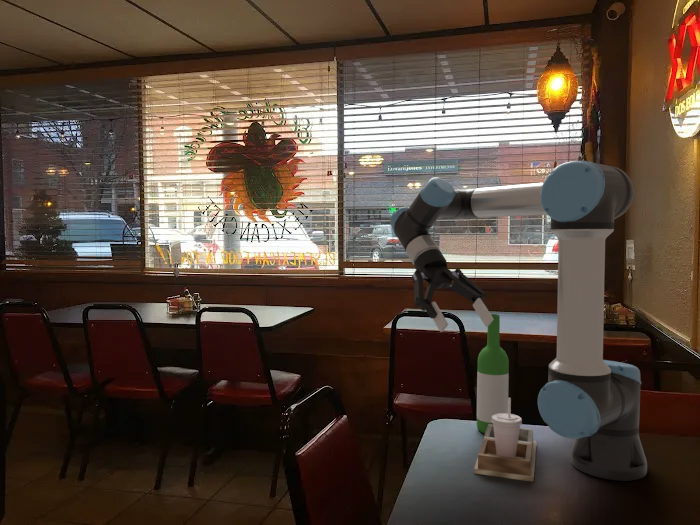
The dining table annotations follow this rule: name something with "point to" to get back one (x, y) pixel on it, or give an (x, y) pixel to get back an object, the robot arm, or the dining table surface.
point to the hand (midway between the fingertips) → (467, 325)
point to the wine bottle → (492, 378)
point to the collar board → (507, 466)
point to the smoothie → (506, 432)
